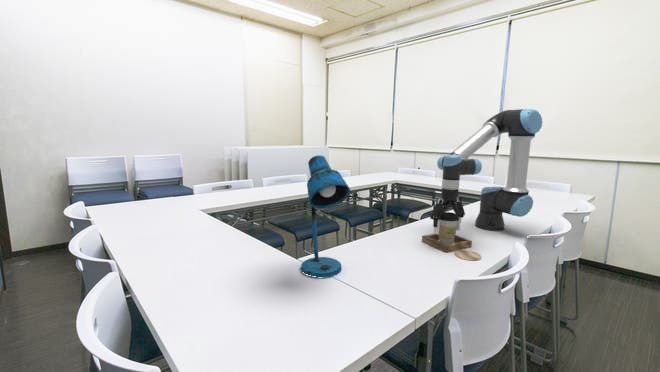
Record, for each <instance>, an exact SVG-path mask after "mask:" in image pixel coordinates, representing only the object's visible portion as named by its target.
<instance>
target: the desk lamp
mask: <svg viewBox="0 0 660 372" xmlns="http://www.w3.org/2000/svg"><path fill="white" fill-rule="evenodd" d="M325 157H326V156H324V155H314V156H312V157H311V158H310V159H309V160H308V162H307V163H308V170H309V173H310V177H309V179H308V181H307V183H306V187H307V196H308V203H309V206H311V207H310V208H311V211H310V212H311V226H312V227H311V229H312V241H313V243H312V245H313V253H314V256H313V257H312V258H311V257H310V258H308V259H306V260H304V261H303V262H302V263H301V266H300V267H301V268H300V271H301V270H302V271H301V273H302V272H304V273H305V274H308V275H311V276H316V277H329V278H332V277H331V276H333V277H335V276H334V275H336V276H338V275H339V274H340V273H341V272H342V264H341V262H340V261H339V260H337V259H336V258H334V257H333V258H331V257H329V256H328V257H327V256H319V248H318V247H319V246H318V245H319V244H318V232H317V216H316V214H317V213H316V209H318V210H319V209H329V208H332V207H334V206H336V205H339V204H340V203H343V202H344V201H345V200H346V199H347V198H348V197H349V196H350V194H351V188H350V187H349V185H348V183H347V182H346V180H345V179H344V178H343V176H342V174H341V173H340V172H339V171H338V170H336V169H332V167H331V166H330V164H329V162H328V161H327V158H325ZM338 273H339V274H338ZM305 274H304V275H305ZM337 274H338V275H337Z"/></svg>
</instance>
